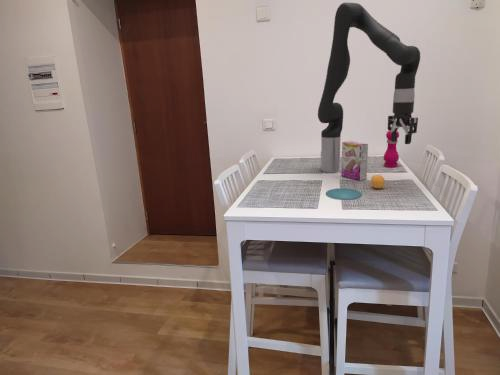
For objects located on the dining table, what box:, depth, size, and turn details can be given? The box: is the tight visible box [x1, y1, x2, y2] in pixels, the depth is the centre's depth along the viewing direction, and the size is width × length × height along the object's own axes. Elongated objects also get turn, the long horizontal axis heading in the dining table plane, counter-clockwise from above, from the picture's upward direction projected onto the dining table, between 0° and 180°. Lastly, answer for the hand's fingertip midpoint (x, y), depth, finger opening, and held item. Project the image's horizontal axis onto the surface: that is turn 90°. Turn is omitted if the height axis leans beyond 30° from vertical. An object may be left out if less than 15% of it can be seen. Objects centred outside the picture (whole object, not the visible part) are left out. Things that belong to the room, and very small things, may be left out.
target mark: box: [325, 187, 363, 201], centre depth 134 cm, size 14×14×1 cm
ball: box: [370, 174, 386, 189], centre depth 138 cm, size 6×6×6 cm
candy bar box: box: [341, 140, 369, 182], centre depth 153 cm, size 11×5×16 cm, turn 31°
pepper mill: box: [382, 130, 400, 169], centre depth 169 cm, size 7×7×20 cm
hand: (400, 142), depth 136 cm, fingers open, 7 cm apart
